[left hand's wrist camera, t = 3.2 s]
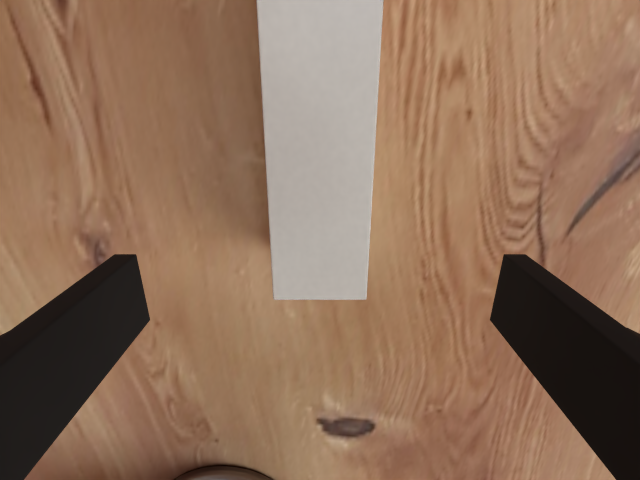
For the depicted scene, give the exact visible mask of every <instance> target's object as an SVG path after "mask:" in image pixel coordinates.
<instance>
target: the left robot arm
mask: <svg viewBox="0 0 640 480" xmlns="http://www.w3.org/2000/svg"><path fill="white" fill-rule="evenodd" d="M149 321H150V317H149V313H148V308H147V303H146V299H145V294H144V289H143V284H142V280H141V275H140V270H139V266H138V261H137V256H136V254H115V255H113V256H112V257H110V258H109V259H108V260H106V261H105V262H104V263H102V264H101V265H100V266H98V267H97V268H95V269H94V270H93V271H91V272H90V273H89V274H87V275H86V276H84V277H83V278H82V279H80V280H79V281H78V282H76V283H75V284H73V285H72V286H71V287H69V288H68V289H67V290H65V291H64V292H62V293H61V294H60V295H58V296H57V297H56V298H54V299H53V300H51V301H50V302H49V303H47V304H46V305H45V306H43V307H42V308H41V309H39V310H38V311H36V312H35V313H34V314H32V315H31V316H30V317H28V318H27V319H25V320H24V321H23V322H21V323H20V324H19V325H17V326H16V327H14V328H13V329H12V330H10V331H8V332H6V333H4V334H2V335H0V480H24V479H25V477H26V476H27V475H28V474H29V472H30V471H31V470H32V469H33V467H34V466H35V465H36V463H37V462H38V461H39V460H40V458H41V457H42V456H43V455H44V453H45V452H46V451H47V450H48V448H49V447H50V446H51V445H52V443H53V442H54V441H55V439H56V438H57V437H58V436H59V434H60V433H61V432H62V431H63V429H64V428H65V427H66V426H67V424H68V423H69V422H70V420H71V419H72V418H73V417H74V415H75V414H76V413H77V412H78V410H79V409H80V408H81V407H82V405H83V404H84V403H85V401H86V400H87V399H88V398H89V396H90V395H91V394H92V393H93V391H94V390H95V389H96V388H97V386H98V385H99V384H100V383H101V381H102V380H103V379H104V377H105V376H106V375H107V374H108V372H109V371H110V370H111V369H112V367H113V366H114V365H115V364H116V362H117V361H118V360H119V358H120V357H121V356H122V355H123V353H124V352H125V351H126V350H127V348H128V347H129V346H130V345H131V343H132V342H133V341H134V339H135V338H136V337H137V336H138V334H139V333H140V332H141V331H142V329H143V328H144V327H145V326H146V324H147V323H148V322H149ZM490 321H491V322H492V323H493V324H494V326H495V327H496V328H497V329H498V331H499V332H500V333H501V334H502V336H503V337H504V338H505V339H506V341H507V342H508V343H509V345H510V346H511V347H512V348H513V350H514V351H515V352H516V353H517V355H518V356H519V357H520V358H521V360H522V361H523V362H524V364H525V365H526V366H527V367H528V369H529V370H530V371H531V372H532V374H533V375H534V376H535V377H536V379H537V380H538V381H539V383H540V384H541V385H542V386H543V388H544V389H545V390H546V391H547V393H548V394H549V395H550V396H551V398H552V399H553V400H554V401H555V403H556V404H557V405H558V407H559V408H560V409H561V410H562V412H563V413H564V414H565V415H566V417H567V418H568V419H569V420H570V422H571V423H572V424H573V426H574V427H575V428H576V429H577V431H578V432H579V433H580V434H581V436H582V437H583V438H584V439H585V441H586V442H587V443H588V445H589V446H590V447H591V448H592V450H593V451H594V452H595V453H596V455H597V456H598V457H599V458H600V460H601V461H602V462H603V463H604V465H605V466H606V467H607V469H608V470H609V471H610V472H611V474H612V475H613V476H614V477H615V479H616V480H640V334H639V333H637V332H635V331H633V330H631V329H629V328H626V327H624V326H623V325H621V324H620V323H619V322H617V321H616V320H615V319H613V318H612V317H610V316H609V315H608V314H606V313H605V312H604V311H602V310H601V309H599V308H598V307H597V306H595V305H594V304H593V303H591V302H590V301H589V300H587V299H586V298H584V297H583V296H582V295H580V294H579V293H578V292H576V291H575V290H573V289H572V288H571V287H569V286H568V285H567V284H565V283H564V282H562V281H561V280H560V279H558V278H557V277H556V276H554V275H553V274H551V273H550V272H549V271H547V270H546V269H545V268H543V267H542V266H540V265H539V264H538V263H536V262H535V261H534V260H532V259H531V258H530V257H528V256H527V255H525V254H504V256H503V261H502V266H501V270H500V275H499V280H498V284H497V289H496V294H495V299H494V303H493V308H492V313H491V317H490ZM175 480H272V479H270V478H268V477H266V476H264V475H262V474H260V473H257V472H254V471H251V470H247V469H243V468H238V467H229V466H214V467H205V468H200V469H196V470H193V471H190V472H187V473H185V474H183V475H181V476H179V477H178V478H176V479H175Z"/></svg>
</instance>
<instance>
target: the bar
mask: <svg viewBox="0 0 640 480" xmlns="http://www.w3.org/2000/svg"><path fill="white" fill-rule="evenodd" d="M256 4H257V22H258V39H259V57H260V74H261V92H262V110H263V127H264V145H265V162H266V180H267V197H268V215H269V232H270V250H271V267H272V285H273V299H274V300H366V298H367V280H368V263H369V245H370V227H371V210H372V192H373V174H374V157H375V139H376V121H377V104H378V86H379V69H380V51H381V33H382V16H383V0H256Z"/></svg>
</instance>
